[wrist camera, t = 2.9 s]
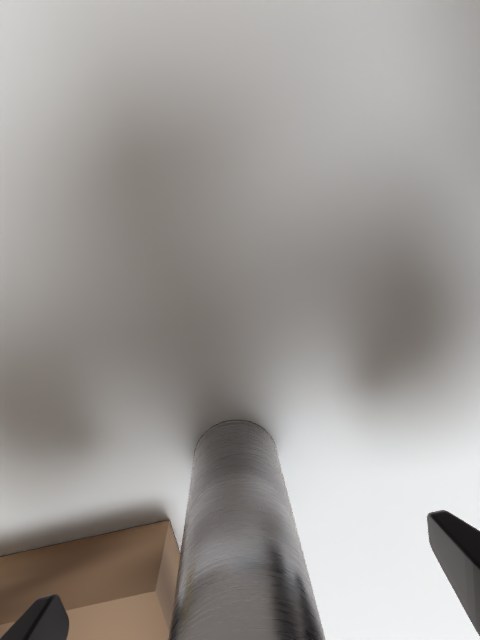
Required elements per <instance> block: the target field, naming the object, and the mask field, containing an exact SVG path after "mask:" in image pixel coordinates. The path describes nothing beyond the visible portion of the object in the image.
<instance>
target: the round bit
mask: <svg viewBox="0 0 480 640" xmlns="http://www.w3.org/2000/svg"><path fill="white" fill-rule="evenodd" d="M168 640H325V636H324V632H323V628H322V624H321V621H320V617H319V613H318V609H317V605H316V601H315V597H314V594H313V590H312V586H311V582H310V578H309V574H308V570H307V566H306V563H305V559H304V555H303V551H302V547H301V543H300V539H299V535H298V532H297V528H296V524H295V520H294V516H293V512H292V508H291V504H290V501H289V497H288V493H287V489H286V485H285V481H284V477H283V474H282V470H281V466H280V462H279V458H278V454H277V450H276V447H275V443H274V441H273V439H272V438H271V436H270V435H269V434H268V433H267V431H265V430H264V429H263V428H262V427H260V426H259V425H256V424H254V423H252V422H249V421H244V420H230V421H225V422H222V423H219V424H217V425H215V426H213V427H212V428H210V429H209V430H208V431H206V432H205V433H204V434H203V436H202V437H201V438H200V440H199V442H198V444H197V446H196V450H195V455H194V462H193V469H192V476H191V483H190V490H189V497H188V504H187V511H186V518H185V525H184V533H183V540H182V547H181V554H180V561H179V568H178V575H177V582H176V589H175V596H174V603H173V610H172V617H171V624H170V631H169V638H168Z"/></svg>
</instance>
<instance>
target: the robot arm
mask: <svg viewBox="0 0 480 640" xmlns="http://www.w3.org/2000/svg"><path fill="white" fill-rule="evenodd" d="M427 522H428V533H429V542H430V545H431V548H432V550H433V552H434V554H435V556H436V558H437V560H438V562H439V563H440V565H441V567H442V569H443V571H444V573H445V574H446V576H447V578H448V580H449V582H450V584H451V585H452V587H453V589H454V591H455V593H456V595H457V596H458V598H459V600H460V602H461V604H462V606H463V608H464V609H465V611H466V613H467V615H468V617H469V618H470V620H471V622H472V624H473V626H474V627H475V629H476V631H477V632H478V634H479V636H480V531H479V530H477V529H476V528H474V527H472V526H471V525H469V524H467V523H466V522H464V521H463V520H461V519H459V518H458V517H456V516H454V515H453V514H451V513H449V512H448V511H445V510H440V511H436V512H431V513H429V514H428V516H427ZM68 632H69V617H68V615H67V613H66V610H65V608H64V606H63V603H62V601H61V599H60V597H59V596H58V595H57V594H51V595H47V596H42V597H40V598H38V599H37V600H36V601H35V602H34V603H33V604H32V605H31V606H30V607H29V608H28V609H27V610H26V611H25V612H24V613H23V614H22V615H21V617H20V618H19V619H18V620H17V621H16V622H15V623H14V624H13V625H12V626H11V627H10V628H9V629H8V630H7V632H6V633H5V634H4V635H3V636H2V637H1V638H0V640H67V636H68Z"/></svg>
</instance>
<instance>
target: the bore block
mask: <svg viewBox="0 0 480 640" xmlns="http://www.w3.org/2000/svg"><path fill="white" fill-rule="evenodd" d="M179 561H180V552H179V549H178V546H177V542H176V539H175V536H174V533H173V530H172V527H171V523H170V520H167V521H162V522H158V523H153V524H149V525H144V526H139V527H135V528H130V529H126V530H121V531H117V532H112V533H107V534H103V535H98V536H94V537H89V538H85V539H80V540H75V541H71V542H66V543H62V544H57V545H52V546H48V547H43V548H39V549H34V550H30V551H25V552H20V553H16V554H11V555H7V556H2V557H0V638H1V637H2V636H3V635H4V634H5V633H6V632H7V630H8V629H9V628H10V627H11V626H12V625H13V624H14V623H15V622H16V621H17V620H18V619H19V618H20V617H21V615H22V614H23V613H24V612H25V611H26V610H27V609H28V608H29V607H30V606H31V605H32V604H33V603H34V602H35V601H36V600H37V599H38V598H40V597H42V596H47V595H51V594H57V595H58V596H59V597H60V599H61V601H62V603H63V606H64V608H65V610H66V613H67V615H68V617H69V632H68V636H67V640H168V638H169V631H170V624H171V617H172V610H173V603H174V596H175V589H176V582H177V575H178V568H179Z"/></svg>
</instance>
